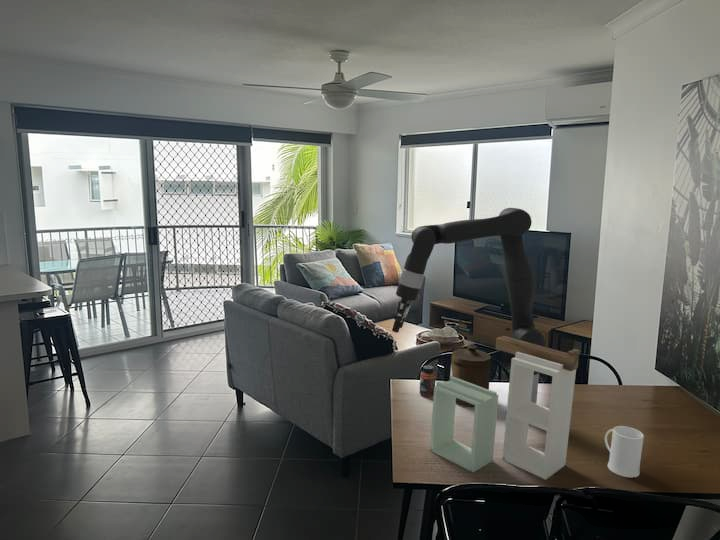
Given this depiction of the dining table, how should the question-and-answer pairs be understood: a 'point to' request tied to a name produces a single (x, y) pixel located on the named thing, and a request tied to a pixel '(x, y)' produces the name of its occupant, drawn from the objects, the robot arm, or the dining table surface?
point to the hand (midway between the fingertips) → (397, 329)
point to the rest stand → (481, 428)
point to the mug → (625, 451)
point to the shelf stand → (538, 416)
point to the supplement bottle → (427, 381)
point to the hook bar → (539, 352)
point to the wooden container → (471, 368)
